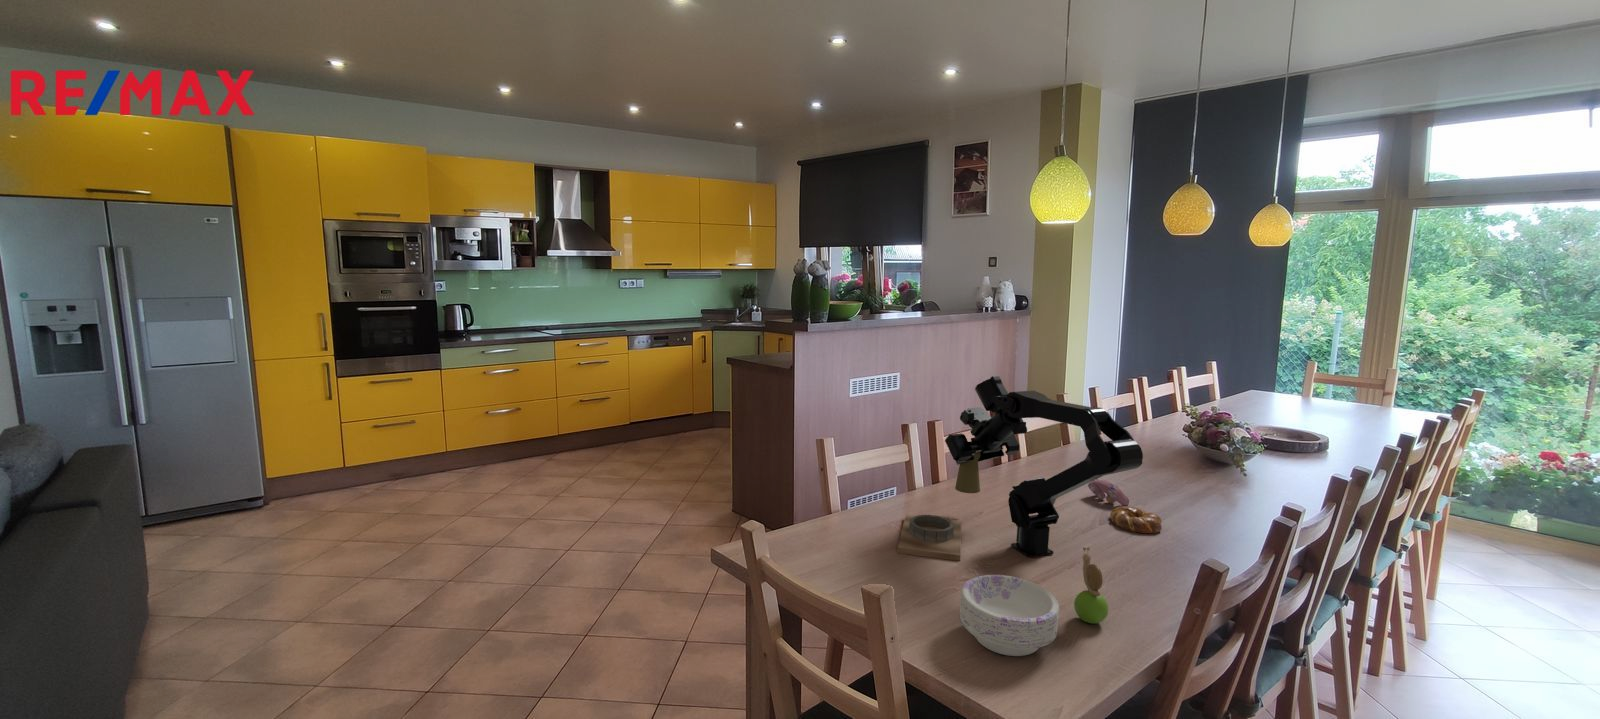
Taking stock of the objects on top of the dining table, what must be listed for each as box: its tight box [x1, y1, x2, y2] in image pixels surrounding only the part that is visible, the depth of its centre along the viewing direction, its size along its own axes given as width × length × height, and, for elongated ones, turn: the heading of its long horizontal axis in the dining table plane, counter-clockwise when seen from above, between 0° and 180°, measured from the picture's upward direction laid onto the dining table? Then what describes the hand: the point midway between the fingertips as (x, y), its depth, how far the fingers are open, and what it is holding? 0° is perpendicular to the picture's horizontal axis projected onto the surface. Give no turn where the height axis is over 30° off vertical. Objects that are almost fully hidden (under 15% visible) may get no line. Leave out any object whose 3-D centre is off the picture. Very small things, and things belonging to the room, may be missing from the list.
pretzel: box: [1109, 505, 1163, 534], centre depth 160 cm, size 12×11×4 cm
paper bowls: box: [959, 574, 1060, 657], centre depth 107 cm, size 15×15×8 cm
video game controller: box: [1087, 478, 1130, 506], centre depth 176 cm, size 10×5×7 cm, turn 25°
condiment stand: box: [897, 514, 962, 562], centre depth 148 cm, size 20×13×4 cm, turn 166°
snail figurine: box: [1073, 547, 1109, 625], centre depth 114 cm, size 5×6×12 cm
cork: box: [954, 451, 981, 494], centre depth 162 cm, size 6×6×11 cm
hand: (965, 461), depth 163 cm, fingers closed on cork, 5 cm apart
